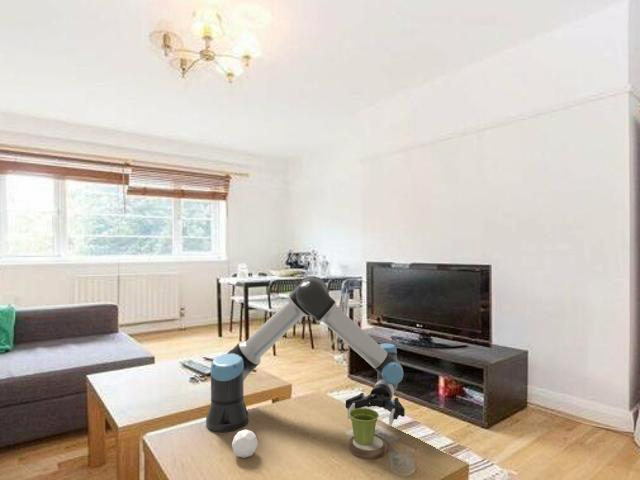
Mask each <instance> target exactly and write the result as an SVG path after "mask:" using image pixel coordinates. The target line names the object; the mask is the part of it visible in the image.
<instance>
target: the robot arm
mask: <svg viewBox="0 0 640 480" xmlns="http://www.w3.org/2000/svg"><path fill="white" fill-rule="evenodd" d="M310 316H311V317H313V319H314V320H316V321H317V323H320V322H322V323H323V324H324V325H325V326H327V327H328V328H329V329H330V330H331V331H332V332H333V333H334V334H335V335H337V336H338V337H339V338H340V339H341V340H342V341H343V342H344V343H346V344H347V345H348V346H349V347H350V349H352V350H353V351H354V352H355V353H357V354H358V355H359V356H360V357H361V358H362V359H364V360H365V362H367V363H368V365H370V366H371V367H372V368H373V369H374V370H375V371H376V373H377V379H376V380H377V381H376V383H375V384H374V386H373V387H372V389H371V391H370V393H369V394H368V395H365V393H364V392H360V393H359V394H358V395H355V396H353V397H350V398H348V399H346V400H345V408H346V409H347V419H348V420H351V417H350V415H349V413H350V411H351V410H353V409H357V408H365V407H367V408H371V407H378V408H383V409H384V410H386V411H388V412H390V414H389V417H388V419H389V420H388V425H389V426H392V425H393V423H394V420H398V418H399V417H403V418H404V417H406V416H405V415H406V414H405V413H406V412H405V410H406V409H405V407H404V406H403V404H401V402H400V400H399V397H395V398H393V397H394V395H395V392H396V390H397V389H398V386H399V383H400V382H402V380H403V379H404V378H403V377H404V369H403V366H402V365H401V363H400V362H399V359H398V357H397V356H398V355H397V354H398V351H397V346H396V345H395V344H394V343H393V344H392V343H386V342H385V343H380V344H379V343H378V342H377V341H376V340H374V339H373V338H372V336H370V335H369V334H368V333H367V332H366V331H365V330H363V329H362V328H361V327H360V326H359V325H358V324H357V323H355V322H354V320H353V319H351V318H350V317H349V316H348V315H346V313H345V312H344V311H343V310H341V308H339V307H338V306H337V301H335V299H333V298H332V297H331V295H330V294H329V288H328V285H327V284H326V282H325V281H324V280H323V279H322V278H320V277H318V276H314V275H313V276H308V277H305V278H303V280H301V282H300V284H298V285H297V286H296V287H295V288H294V289H293V290H292V291H291V292H290V293H289V294H288V300H287V301H286V302H285V303H284V304H283V305H282V306H281V307H280V308H279V309H278V310H277V311H276V312H275V313H273V315H271V317H269V319H268V320H266V321H265V322H264V323H263V325H262V326H260V327H259V328H258V329H257V330H256V331H255V332H253V334H252V335H251V336H250V337H249V338H248V339H247V340H246V341H243V340H242V341H239V342H238V343H237V344H236V345H235V346H234V347H233V348H232V349H230V350H229V351H228V352H227V353H225V354H222V355H219V356H217V357H215V358H214V359H213V360H211V364H210V371H209V372H210V405H209V409H208V411H207V412H208V413H207V415H206V418H205V427H206V428H207V429H208V430H210V431H214V432H217V433H228V432H234V431H237V430H239V429H242V428H244V427H246V426H247V424H248V423H249V413H248V410H247V406H246V404H245V400H244V398H245V397H244V396H245V395H244V393H245V392H244V387H245V386H244V384H245V383H244V382H245V380H246V379H247V377H248V376H249V375H250V373H252V372H253V370H255V369H256V368H257V367H258V366H259V365H260V364H261V358H262V356H264V355H265V354H266V353H267V352H268V351H269V350H270V349H271V348H272V347H273V346H274V345H275V344H277V342H278V341H279V340H280V339H281V338H282V337H283V336H285V334H286V333H288V331H290V329H292V327H294V326H295V325H296V324H297V323H298V322H299V321H300V320H301V319H302V318H303V317H310Z"/></svg>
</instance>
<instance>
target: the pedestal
mask: <svg viewBox="0 0 640 480" xmlns="http://www.w3.org/2000/svg"><path fill="white" fill-rule="evenodd" d="M348 450H349V452H350V453H351V454H352V455H354V456H356V457H358V458H361V459H364V460H365V459H366V460H375V459H380V458H381V457H384V456H385V455H386V454H387V452H388V443H387V440H386V439H385V438H383V437H382V436H381V435H377V434H375V433H374V439H373V443H371V444H369V445H367V444H364V445H360V444H358V443H356V442H355V440H354V435H352V437H350V439H349V442H348Z"/></svg>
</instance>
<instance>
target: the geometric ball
mask: <svg viewBox="0 0 640 480" xmlns="http://www.w3.org/2000/svg"><path fill="white" fill-rule="evenodd" d="M258 443H259V442H258V438H257V435H256V434H255V433H254V432H253V431H252V430H249V429H243V430H240V431H238V432H237V433H236V434H235V435H234V436H233V440H232V443H231V447H232V451H233V453H234V454H235V455H236V456H237V457H240V458H243V459H246V458H249V457H251V456H253V454H254V453H255V452H256V450H257V448H258Z"/></svg>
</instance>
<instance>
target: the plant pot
mask: <svg viewBox="0 0 640 480" xmlns="http://www.w3.org/2000/svg"><path fill="white" fill-rule="evenodd" d="M349 415H350V417H351V418H350V420H351V425H352V432H353V433H352V434H353V436H354V440H355V442H356V443H358V444H360V445H364V444H367V445H369V444H371V443H373V439H374V434H375V431H376V424H377V421H378V419H379V413H378V411H376V410H374V409H371V408H368V407H367V408H365V407H362V408H357V409H353V410H351V411H350V413H349Z"/></svg>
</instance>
